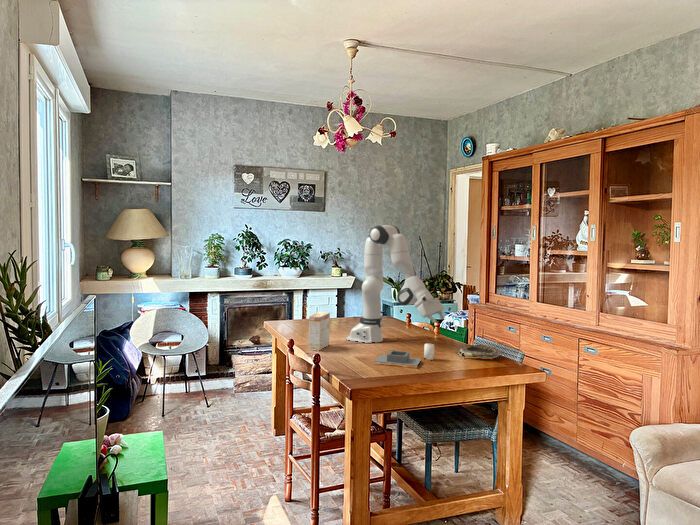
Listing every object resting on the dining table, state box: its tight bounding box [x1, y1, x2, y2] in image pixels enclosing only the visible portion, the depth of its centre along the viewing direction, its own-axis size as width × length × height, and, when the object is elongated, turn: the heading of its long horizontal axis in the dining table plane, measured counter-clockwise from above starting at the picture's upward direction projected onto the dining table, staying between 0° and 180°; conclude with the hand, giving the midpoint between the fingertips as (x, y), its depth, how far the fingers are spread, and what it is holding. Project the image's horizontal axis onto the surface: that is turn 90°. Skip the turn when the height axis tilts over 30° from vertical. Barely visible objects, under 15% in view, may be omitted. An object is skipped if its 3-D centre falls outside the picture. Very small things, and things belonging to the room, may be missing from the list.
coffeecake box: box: [308, 311, 331, 351], centre depth 294 cm, size 15×7×20 cm, turn 160°
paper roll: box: [423, 343, 435, 359], centre depth 274 cm, size 5×5×8 cm
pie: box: [457, 344, 501, 358], centre depth 284 cm, size 28×27×5 cm
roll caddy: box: [373, 350, 422, 366], centre depth 266 cm, size 22×14×5 cm, turn 73°
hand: (439, 320), depth 288 cm, fingers open, 8 cm apart
